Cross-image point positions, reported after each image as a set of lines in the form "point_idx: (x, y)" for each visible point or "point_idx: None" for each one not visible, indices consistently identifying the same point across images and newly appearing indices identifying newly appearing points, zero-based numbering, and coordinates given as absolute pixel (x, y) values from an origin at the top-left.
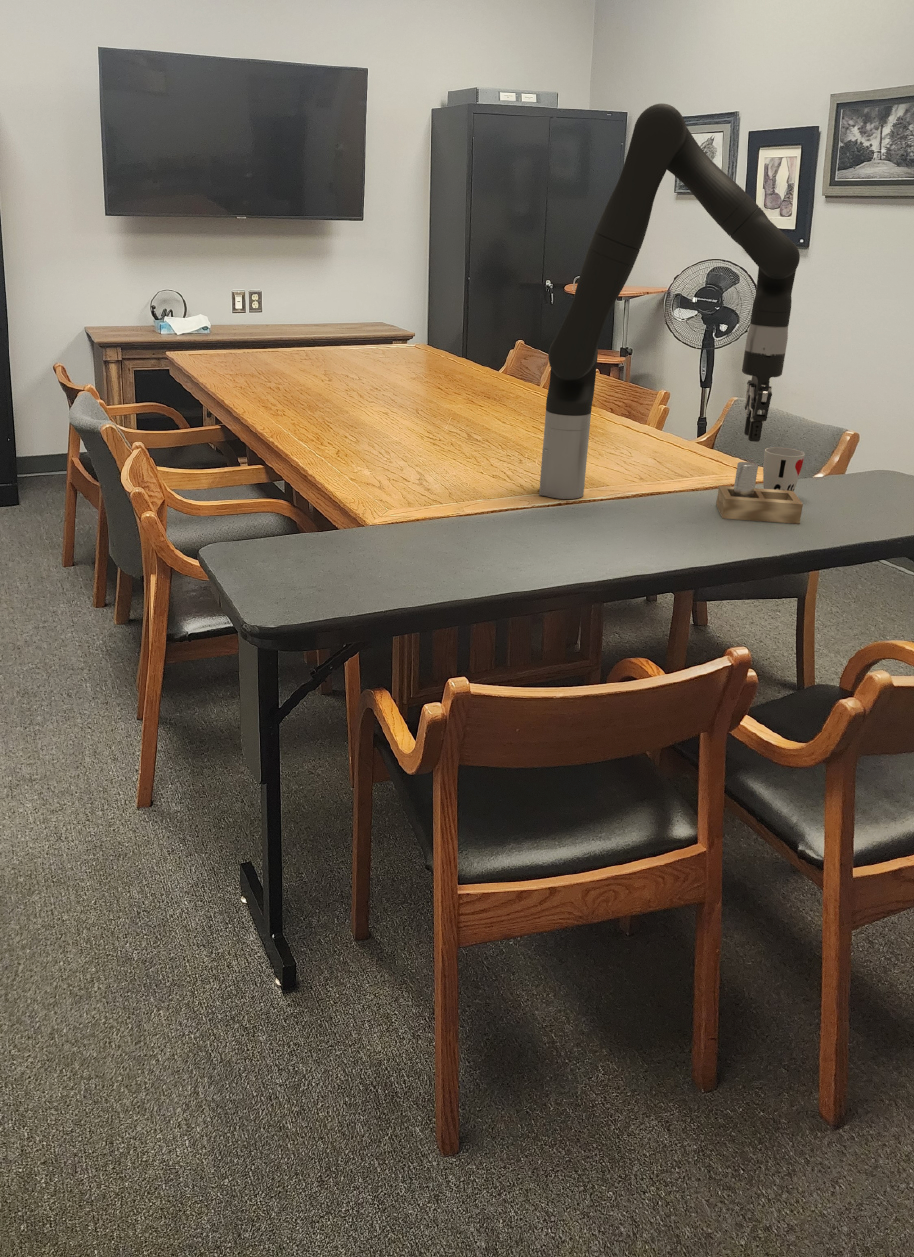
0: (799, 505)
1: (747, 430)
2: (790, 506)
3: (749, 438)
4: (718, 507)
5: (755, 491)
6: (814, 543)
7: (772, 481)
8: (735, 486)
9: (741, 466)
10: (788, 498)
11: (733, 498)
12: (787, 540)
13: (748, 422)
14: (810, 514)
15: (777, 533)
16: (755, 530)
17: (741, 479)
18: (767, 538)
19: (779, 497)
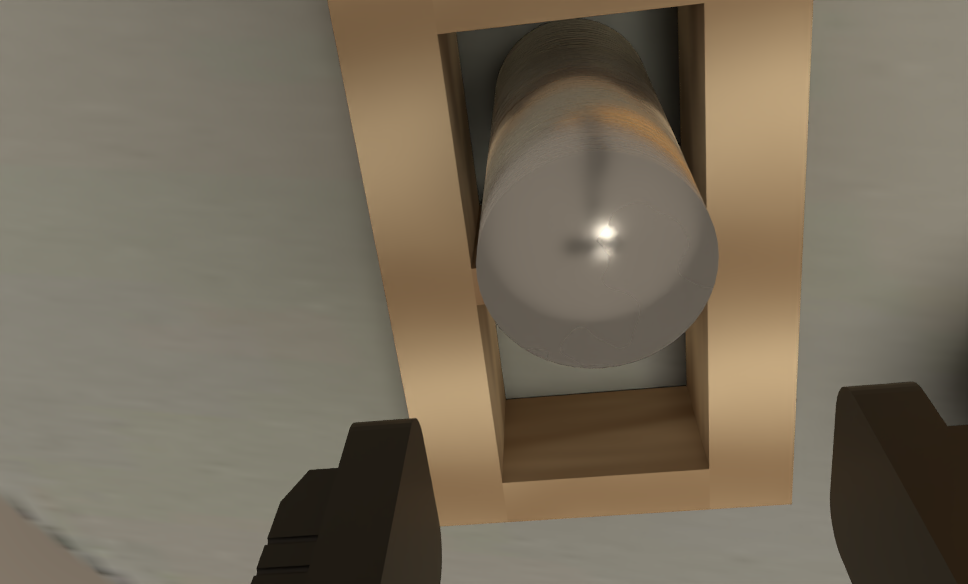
0: None
1: (865, 463)
2: None
3: (353, 443)
4: None
5: None
6: (80, 473)
7: None
8: (543, 86)
9: (501, 189)
10: (667, 452)
11: (366, 55)
12: (50, 351)
13: (929, 579)
14: (683, 512)
15: (167, 308)
16: (159, 182)
17: (492, 157)
18: (20, 245)
19: (701, 399)
